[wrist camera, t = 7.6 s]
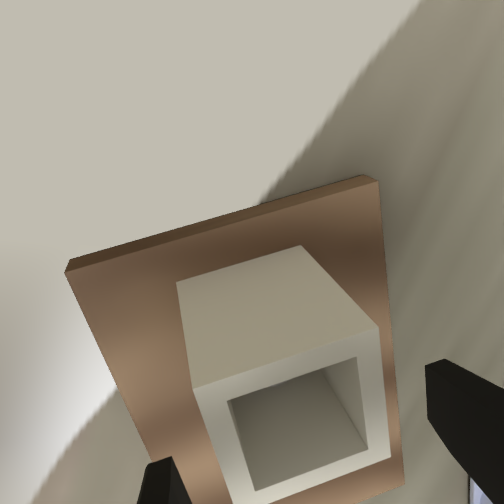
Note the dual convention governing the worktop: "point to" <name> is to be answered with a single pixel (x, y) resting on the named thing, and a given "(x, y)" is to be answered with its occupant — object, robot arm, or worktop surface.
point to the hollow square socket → (283, 375)
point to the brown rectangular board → (172, 335)
